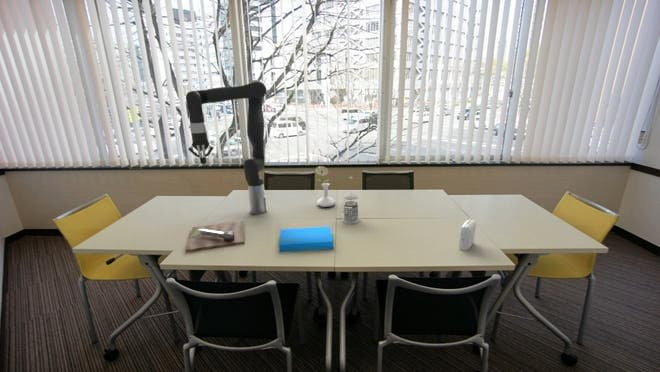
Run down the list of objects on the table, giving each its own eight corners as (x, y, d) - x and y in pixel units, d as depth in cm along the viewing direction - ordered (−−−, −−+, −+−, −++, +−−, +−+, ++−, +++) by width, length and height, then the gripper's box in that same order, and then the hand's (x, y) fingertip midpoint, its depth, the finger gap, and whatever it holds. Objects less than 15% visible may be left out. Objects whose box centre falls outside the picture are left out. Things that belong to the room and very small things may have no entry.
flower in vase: (338, 203, 195) (338, 165, 188) (328, 209, 186) (328, 169, 179) (321, 200, 202) (320, 163, 194) (311, 205, 193) (309, 167, 185)
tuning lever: (236, 237, 150) (235, 231, 149) (230, 242, 146) (229, 236, 145) (202, 232, 156) (202, 226, 156) (195, 236, 152) (194, 230, 151)
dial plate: (243, 223, 170) (243, 220, 170) (244, 244, 147) (244, 240, 147) (193, 229, 164) (192, 226, 163) (186, 252, 141) (185, 249, 140)
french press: (363, 219, 172) (364, 176, 164) (350, 226, 164) (350, 181, 156) (349, 214, 179) (349, 173, 171) (336, 221, 171) (335, 177, 163)
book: (280, 229, 154) (329, 225, 157) (281, 237, 156) (330, 233, 158) (278, 245, 138) (333, 241, 140) (279, 254, 139) (334, 249, 142)
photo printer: (467, 251, 137) (470, 226, 133) (457, 248, 139) (460, 223, 136) (474, 243, 144) (478, 218, 140) (465, 240, 147) (468, 216, 143)
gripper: (212, 129, 164) (217, 161, 169) (186, 131, 160) (191, 163, 166) (211, 131, 157) (216, 164, 162) (183, 133, 154) (189, 166, 159)
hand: (203, 164), depth 164 cm, fingers closed
